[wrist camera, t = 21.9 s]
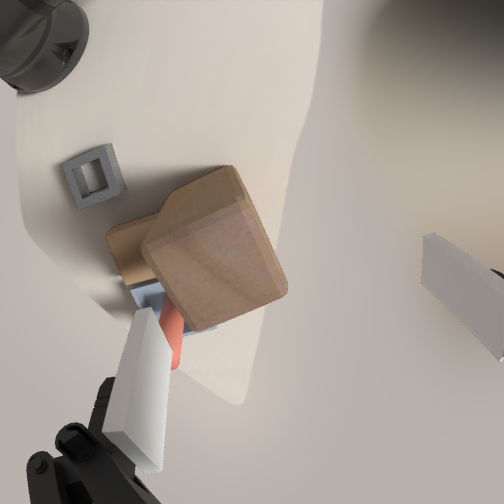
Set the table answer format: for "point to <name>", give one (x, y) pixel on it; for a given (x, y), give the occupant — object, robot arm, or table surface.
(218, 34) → the table surface
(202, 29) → the table surface
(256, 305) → the wooden block
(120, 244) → the cardboard box
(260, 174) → the table surface
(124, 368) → the robot arm
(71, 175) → the socket
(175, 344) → the dowel
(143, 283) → the tray
